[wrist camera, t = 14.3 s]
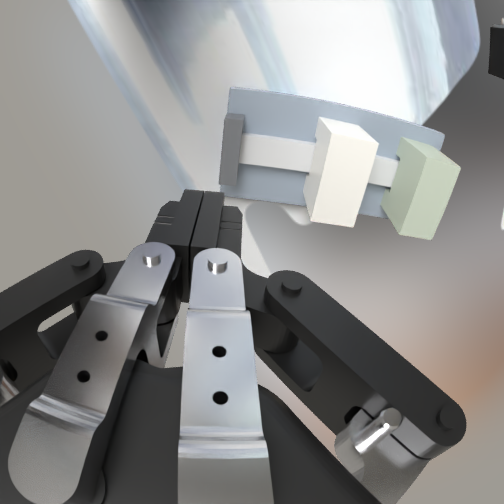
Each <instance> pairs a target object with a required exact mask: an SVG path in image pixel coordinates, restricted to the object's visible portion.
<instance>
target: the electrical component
mask: <svg viewBox="0 0 504 504" xmlns="http://www.w3.org/2000/svg"><path fill="white" fill-rule="evenodd" d="M488 73H489V74H492V75H494V76H497V77H500V78H502V79H504V18H502V19H501V25H497V24H493V27H491V28H490V56H489V70H488Z"/></svg>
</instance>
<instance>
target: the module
mask: <svg viewBox="0 0 504 504" xmlns="http://www.w3.org/2000/svg"><path fill="white" fill-rule="evenodd" d="M315 137H316V139H317V141H316V145H315V150H314V155H313V159H312V164H311V168H310V173H309V174H307V175H306V179H305V184H304V188H303V194H304V198H305V201H306V205H307V209H308V213H309V217H310V221H312V222H319V223H326V224H333V225H340V226H347V227H353V226H354V223H355V221H356V217H357V214H358V211H359V208H360V205H361V202H362V199H363V196H364V193H365V189H366V186H367V183H368V180H369V176H370V173H371V170H372V166H373V163H374V159H375V156H376V152H377V149H378V145H379V143H378V142H376V141H375V140H374V139H373V138H372V137H371V136H370V135H369V134H368V133H367V132H366V131H364V130H363V129H362V128H361V127H360V126H359V125H355V124H351V123H347V122H342V121H338V120H333V119H328V118H323V117H319V118H318V123H317V128H316V132H315Z"/></svg>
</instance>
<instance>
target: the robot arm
mask: <svg viewBox="0 0 504 504" xmlns="http://www.w3.org/2000/svg"><path fill="white" fill-rule="evenodd" d="M224 195H225V193H222V192H211V191H205V194H204V191H199V190H187V189H185V190H184V193H183V195H182V198H181V200H180V202H177V201H169V202H168V203H166V204H165V205H164V206H163V207H161V209H160V211H159V213H158V217H157V218H156V220H155V223H154V224H153V226H152V228H151V231H150V233H149V235H148V237H147V240H146V242H145V243H144V244H141V245H139V246H137V247H135V248H134V249H133V250H132V251H131V252H130V254H129V256H128V257H127V259H126V260H124V261H119V262H111V263H103V258H102V257H101V255H100V254H99V253H97V252H95V251H92V250H80V251H77V252H74V253H72V254H70V255H68V256H66V257H64V258H62V259H60V260H58V261H56V262H54V263H53V264H51V265H49V266H47V267H45V268H43V269H41V270H40V271H38V272H36V273H34V274H32V275H31V276H29V277H27V278H25V279H23V280H22V281H20V282H19V283H17V284H15V285H13V286H11V287H9V288H8V289H6V290H4V291H3V292H1V293H0V504H396V503H397V502H398V500H399V499H400V498H401V497H402V496H403V495H404V493H405V492H406V491H407V490H408V488H409V487H410V486H411V485H412V483H413V482H414V481H415V480H416V478H417V477H418V476H419V474H420V473H421V472H422V470H423V469H424V467H425V466H426V465H427V463H428V462H429V461H430V460H432V459H433V458H435V457H437V456H438V455H440V454H442V453H443V452H445V451H446V450H448V449H449V448H451V447H452V446H454V445H455V444H457V443H458V442H459V441H461V439H462V438H463V436H464V434H465V431H466V418H465V415H464V412H463V410H462V409H461V407H460V406H459V405H458V404H457V403H456V402H455V401H454V400H452V399H451V398H450V397H449V396H448V395H447V394H446V393H444V392H443V391H442V390H441V389H440V388H439V387H437V386H436V385H435V384H434V383H433V382H432V381H430V380H429V379H428V378H427V377H426V376H425V375H423V374H422V373H421V372H420V371H419V370H418V369H416V368H415V367H414V366H413V365H411V363H409V362H408V361H407V360H406V359H404V358H403V357H402V356H401V355H400V354H399V353H398V352H396V351H395V350H394V349H393V348H392V347H391V346H389V345H388V344H387V343H385V341H383V340H382V339H381V338H379V336H377V335H376V334H375V333H374V332H373V331H371V330H370V329H369V328H368V327H366V326H365V325H364V324H363V323H362V322H361V321H360V320H358V319H357V318H356V317H355V316H354V315H352V314H351V313H350V312H349V311H348V310H346V309H345V308H344V307H343V306H342V305H340V304H339V303H338V302H337V301H336V300H334V299H333V298H332V297H331V296H329V295H328V294H327V293H326V292H325V291H323V290H322V289H321V288H320V287H318V286H317V285H316V284H315V283H314V282H313V281H311V280H310V279H309V278H307V277H306V276H305V275H303V274H300V273H298V272H295V271H288V270H284V271H278V272H275V273H273V274H272V275H270V276H269V278H265V277H262V276H259V275H257V274H254V273H253V272H251V271H249V270H248V269H247V268H246V267H245V266H244V265H243V263H242V261H241V238H242V213H241V212H240V210H239V209H238V207H234V206H224ZM189 299H190V306H189V308H188V310H187V319H186V331H185V346H184V361H183V367H173V368H164V367H165V363H166V359H167V356H168V353H169V349H170V346H171V343H172V339H173V336H174V332H175V329H176V326H177V323H178V312H179V309H180V304H181V302H186V303H188V302H189ZM71 304H72V307H73V310H74V313H72V314H70V315H69V316H67V317H65V318H64V319H62V320H61V321H59V322H57V323H56V324H54V325H53V326H51V327H49V328H48V329H46V330H44V331H42V332H37V330H38V327H39V325H40V324H41V323H42V322H43V321H44V320H46V319H48V318H49V317H51V316H52V315H54V314H56V313H57V312H59V311H61V310H62V309H64V308H66V307H67V306H69V305H71ZM254 350H255V352H256V354H257V355H258V356H259V357H260V359H261V360H262V361H263V362H264V363H265V364H266V365H267V366H268V367H269V368H270V369H271V370H272V371H273V372H274V373H275V374H276V375H277V377H279V379H280V380H281V381H282V382H283V383H284V384H285V385H286V386H287V387H288V388H289V389H290V390H291V391H292V392H293V393H294V394H295V395H296V396H297V397H298V398H299V399H300V400H301V401H302V402H303V403H304V404H305V405H306V406H307V407H308V408H309V409H310V410H311V411H312V412H313V413H314V414H315V415H316V416H317V417H318V418H319V419H320V420H321V421H322V422H323V423H324V424H325V425H326V426H327V427H328V428H329V429H330V430H331V431H332V432H333V433H334V434H335V435H336V439H335V444H334V447H335V452H336V455H337V457H338V458H339V460H340V461H341V462H342V464H343V465H344V466H343V465H342V464H341V463H340V462H339V461H338V460H337V459H336V458H335V457H334V456H333V455H332V454H331V453H330V452H329V450H328V449H327V448H326V447H325V446H324V445H323V444H322V443H321V442H320V441H319V440H318V439H317V438H316V437H315V436H314V435H313V434H312V432H311V431H310V430H309V429H308V428H307V427H306V426H305V425H304V424H303V423H302V422H301V420H300V419H299V418H298V417H297V416H296V415H295V414H294V413H293V412H292V411H291V409H290V408H289V407H288V406H287V405H286V404H285V403H284V402H283V401H282V400H281V399H280V398H279V397H278V396H276V395H275V394H274V393H272V392H271V391H269V390H268V389H266V388H264V387H262V386H261V385H259V384H257V375H256V366H255V355H254Z"/></svg>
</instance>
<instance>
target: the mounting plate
mask: <svg viewBox="0 0 504 504" xmlns="http://www.w3.org/2000/svg"><path fill="white" fill-rule="evenodd" d="M319 117H323V118H328V119H333V120H338V121H342V122H347V123H351V124H355V125H359V126H360V127H361V128H362V129H363V130H364V131H366V132H367V133H368V134H369V135H370V136H371V137H372V138H373V139H374V140H375V141H376V142H378V143H379V145H378V149H377V152H376V156H375V159H374V163H373V166H372V170H371V173H370V176H369V180H368V183H367V186H366V189H365V193H364V196H363V199H362V202H361V205H360V208H359V211H358V214H362V215H368V216H374V217H380V218H386V219H390V221H391V222H392V224H393V226H394V227H395V229H396V231H397V232H398V234H399V235H404V236H410V237H416V238H422V239H428V240H432V238H433V236H434V234H435V231H436V229H437V227H438V224H439V222H440V220H441V218H442V215H443V213H444V210H445V208H446V206H447V203H448V201H449V198H450V195H451V193H452V190H453V187H454V185H455V183H456V180H457V177H458V174H459V172H460V169H461V167H459V166H458V165H457V164H456V163H454V162H453V161H452V160H450V159H449V158H448V157H447V156H445V155H444V154H443V153H441V152H440V150H441V147H442V144H443V140H444V137H445V135H444V134H442V133H441V132H439V131H436V130H433V129H430V128H427V127H424V126H421V125H418V124H415V123H411V122H408V121H405V120H402V119H398V118H395V117H391V116H388V115H384V114H380V113H377V112H373V111H369V110H365V109H361V108H357V107H352V106H348V105H344V104H339V103H334V102H330V101H325V100H320V99H314V98H309V97H303V96H297V95H291V94H285V93H278V92H271V91H263V90H255V89H246V88H236V87H231V88H230V93H229V102H228V112H227V115H226V117H225V120H224V131H223V141H222V153H221V164H220V176H219V184H220V185H221V188H220V192H222V193H225V195H224V196H227V197H237V198H245V199H254V200H262V201H270V202H278V203H286V204H294V205H301V206H307V205H306V201H305V198H304V194H303V188H304V184H305V179H306V175H307V174H309V173H310V168H311V164H312V159H313V155H314V150H315V145H316V141H317V139H316V137H315V132H316V128H317V123H318V118H319Z"/></svg>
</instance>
